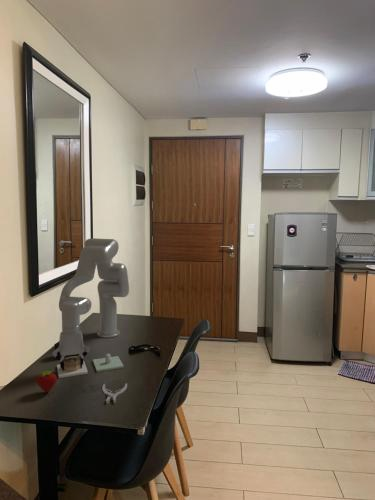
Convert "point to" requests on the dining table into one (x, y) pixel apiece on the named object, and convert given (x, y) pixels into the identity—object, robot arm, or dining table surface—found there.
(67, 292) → the robot arm
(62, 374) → the stand
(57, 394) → the dining table surface
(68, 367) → the collar
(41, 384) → the strawberry
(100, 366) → the plate
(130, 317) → the dining table surface
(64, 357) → the digital camera
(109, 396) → the pliers
